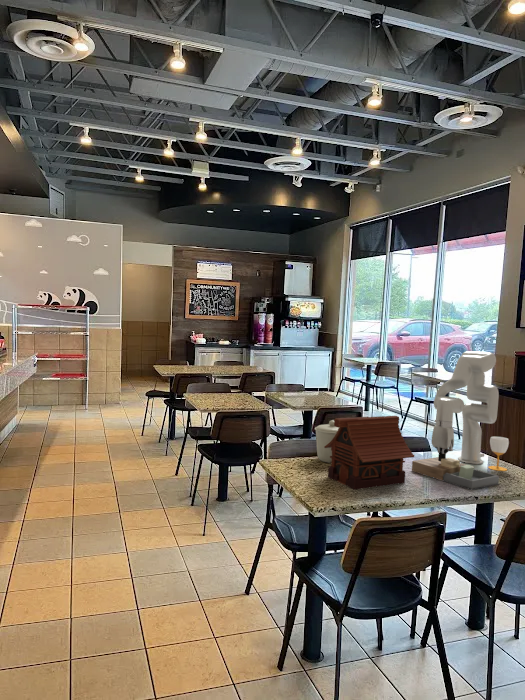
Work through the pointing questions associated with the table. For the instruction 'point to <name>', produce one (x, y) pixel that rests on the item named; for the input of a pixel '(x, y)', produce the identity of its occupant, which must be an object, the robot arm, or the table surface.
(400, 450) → the house
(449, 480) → the tray
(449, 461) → the maple block
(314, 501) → the table surface
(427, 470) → the tan wooden board
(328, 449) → the canister
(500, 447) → the cup
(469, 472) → the sage block
